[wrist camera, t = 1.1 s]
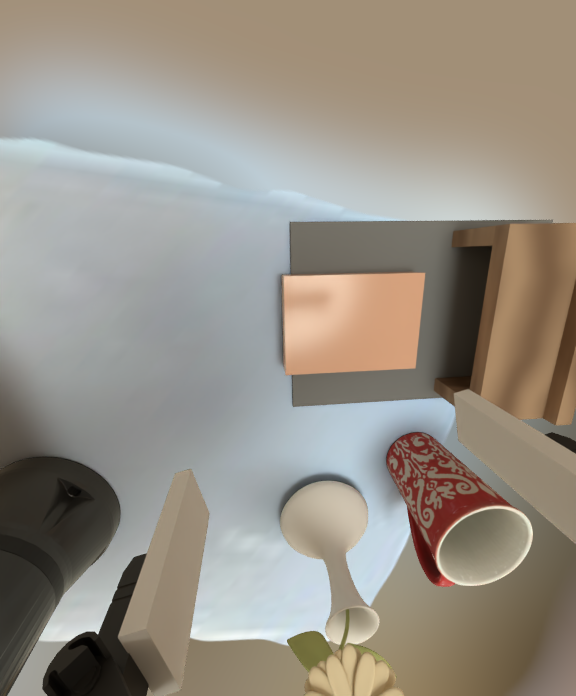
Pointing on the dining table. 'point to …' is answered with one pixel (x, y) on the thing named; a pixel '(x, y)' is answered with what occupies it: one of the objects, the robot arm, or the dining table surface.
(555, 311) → the grooved wooden block
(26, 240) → the dining table surface
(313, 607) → the dining table surface
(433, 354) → the mat
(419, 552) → the mug
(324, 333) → the tile
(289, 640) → the flower in vase
